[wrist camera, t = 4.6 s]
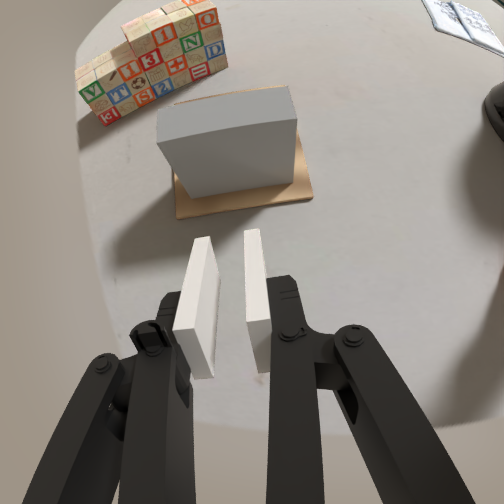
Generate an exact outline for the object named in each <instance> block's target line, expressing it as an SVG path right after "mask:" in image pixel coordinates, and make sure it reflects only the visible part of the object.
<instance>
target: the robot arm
mask: <svg viewBox="0 0 504 504" xmlns="http://www.w3.org/2000/svg"><path fill="white" fill-rule="evenodd" d="M485 108H486V112H487V115H488V117H489V119H490V122H491V123H492V125H493V127H494V129H495V130H496V132H497V133H498V134H499V136H500V137H501V138H502V140H503V141H504V81H503V82H502V83H500V84H498V85H497V86H495V87H493V88H492V89H491V91H490V92H489V94H488V95H487V97H486V99H485ZM244 253H245V290H246V322H247V327H248V331H249V335H250V340H251V344H252V348H253V353H254V357H255V361H256V365H257V370H258V373H266V372H270V402H269V436H268V437H269V438H268V465H267V491H266V504H325V500H324V481H323V464H322V448H321V434H320V421H319V409H318V398H317V389H327V390H333V392H334V395H335V397H336V399H337V401H338V403H339V406H340V408H341V410H342V412H343V414H344V417H345V419H346V421H347V423H348V425H349V428H350V430H351V432H352V434H353V437H354V439H355V441H356V443H357V445H358V448H359V450H360V452H361V454H362V457H363V459H364V461H365V463H366V466H367V468H368V470H369V472H370V475H371V477H372V479H373V482H374V484H375V486H376V488H377V491H378V493H379V495H380V498H381V500H382V502H383V504H475V502H474V500H473V498H472V496H471V494H470V492H469V490H468V489H467V487H466V485H465V483H464V481H463V479H462V478H461V476H460V474H459V472H458V470H457V469H456V467H455V465H454V463H453V461H452V460H451V458H450V456H449V455H448V453H447V451H446V449H445V448H444V446H443V444H442V443H441V441H440V439H439V437H438V436H437V434H436V432H435V431H434V429H433V427H432V426H431V424H430V422H429V421H428V419H427V417H426V416H425V414H424V412H423V411H422V409H421V408H420V406H419V404H418V403H417V401H416V400H415V398H414V396H413V395H412V393H411V392H410V390H409V388H408V387H407V385H406V384H405V382H404V381H403V379H402V377H401V376H400V374H399V373H398V371H397V370H396V368H395V367H394V365H393V364H392V362H391V360H390V359H389V357H388V356H387V354H386V353H385V351H384V350H383V348H382V347H381V345H380V344H379V342H378V341H377V339H376V338H375V336H374V335H373V333H372V332H371V331H370V330H369V329H368V328H366V327H364V326H361V325H354V324H353V325H347V326H344V327H342V328H340V329H339V330H338V331H337V332H336V333H335V334H324V333H319V332H316V331H314V330H313V329H311V328H310V327H309V326H308V325H307V322H306V319H305V315H304V311H303V307H302V303H301V299H300V295H299V291H298V287H297V283H296V281H295V280H294V279H293V278H292V277H291V276H290V275H286V276H279V277H272V278H267V275H266V268H265V262H264V255H263V249H262V243H261V236H260V230H259V228H258V229H251V230H245V231H244ZM220 282H221V280H220V276H219V272H218V268H217V264H216V260H215V256H214V252H213V248H212V244H211V240H210V236H207V237H201V238H195V240H194V244H193V248H192V251H191V255H190V259H189V263H188V267H187V271H186V275H185V279H184V283H183V287H182V291H178V292H170V293H167V294H166V296H165V297H164V298H163V299H162V300H161V303H160V306H159V310H158V313H157V317H156V320H148V321H144V322H142V323H140V324H138V325H136V326H135V327H134V328H133V329H132V330H131V333H130V335H129V336H130V338H131V340H132V342H133V343H134V345H135V347H136V349H137V351H138V354H136V355H134V356H131V357H128V358H125V359H122V360H119V359H118V357H116V356H115V355H114V354H111V353H104V354H102V355H99V356H97V357H96V358H95V359H93V361H92V362H91V363H90V364H89V366H88V368H87V370H86V372H85V374H84V375H83V377H82V379H81V381H80V383H79V384H78V386H77V388H76V390H75V392H74V394H73V396H72V398H71V399H70V401H69V403H68V405H67V407H66V409H65V411H64V413H63V415H62V417H61V419H60V421H59V423H58V425H57V427H56V429H55V431H54V433H53V435H52V437H51V439H50V441H49V443H48V445H47V447H46V450H45V452H44V454H43V456H42V458H41V460H40V463H39V465H38V467H37V469H36V471H35V474H34V476H33V478H32V481H31V483H30V486H29V488H28V490H27V493H26V495H25V498H24V500H23V502H22V504H112V501H113V498H114V494H115V492H116V489H117V486H118V483H119V480H120V485H119V498H118V504H196V493H195V472H194V436H193V388H192V385H191V383H190V373H192V375H193V377H194V379H208V378H214V362H215V347H216V333H217V320H218V307H219V295H220ZM110 404H111V405H110ZM109 406H110V407H109Z"/></svg>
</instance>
